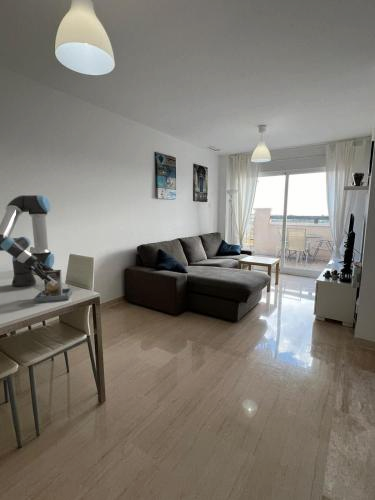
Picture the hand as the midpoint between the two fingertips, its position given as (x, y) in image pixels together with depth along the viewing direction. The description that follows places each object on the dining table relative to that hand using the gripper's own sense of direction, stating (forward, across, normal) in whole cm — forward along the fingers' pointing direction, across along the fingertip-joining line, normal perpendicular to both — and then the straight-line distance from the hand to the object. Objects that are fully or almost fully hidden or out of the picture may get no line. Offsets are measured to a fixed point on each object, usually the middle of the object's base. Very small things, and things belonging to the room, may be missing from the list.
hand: (57, 281), depth 159 cm
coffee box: (+5, 0, -8) cm, 10 cm away
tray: (+5, 0, -9) cm, 10 cm away
